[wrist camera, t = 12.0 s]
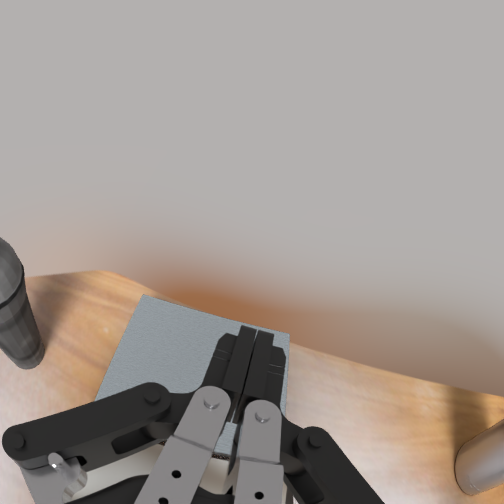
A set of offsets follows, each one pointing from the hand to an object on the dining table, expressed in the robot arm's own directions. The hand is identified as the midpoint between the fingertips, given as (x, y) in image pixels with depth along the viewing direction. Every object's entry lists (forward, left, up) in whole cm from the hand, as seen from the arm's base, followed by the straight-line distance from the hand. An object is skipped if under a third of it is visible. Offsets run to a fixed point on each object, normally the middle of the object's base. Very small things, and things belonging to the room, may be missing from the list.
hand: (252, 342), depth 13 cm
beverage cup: (+15, -15, -19) cm, 28 cm away
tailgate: (+3, +1, -14) cm, 14 cm away
